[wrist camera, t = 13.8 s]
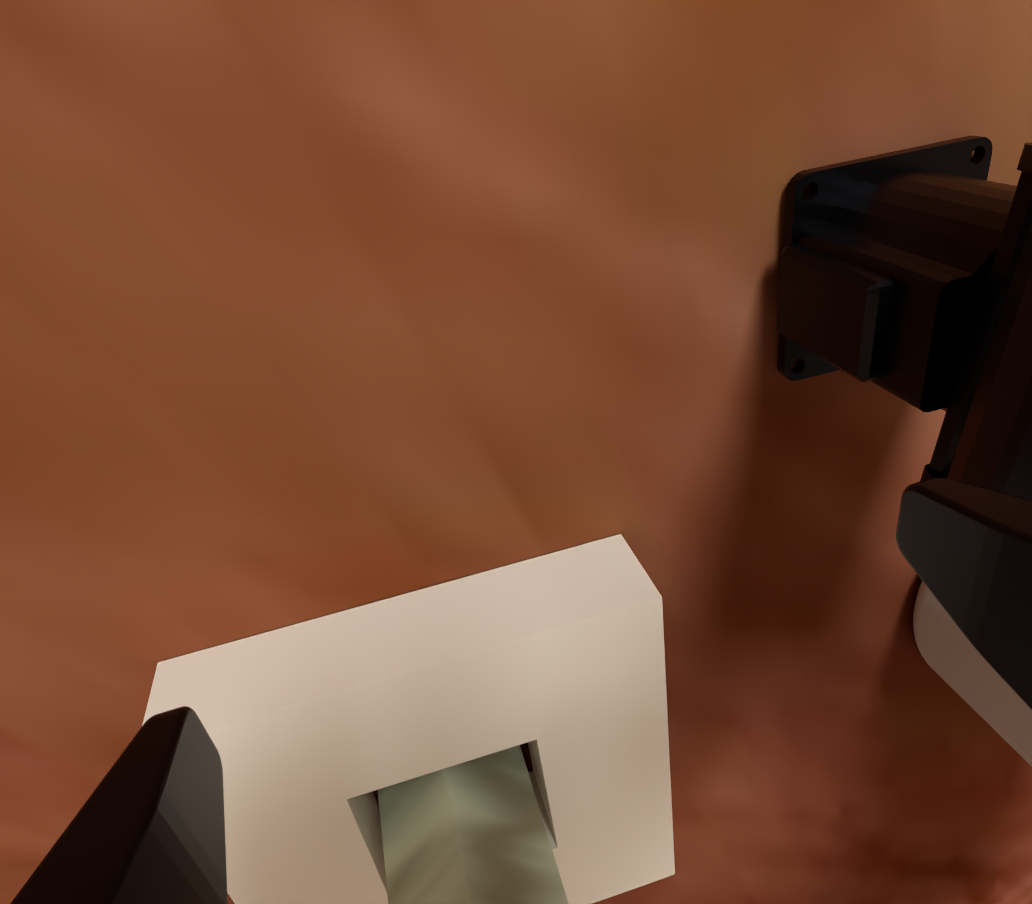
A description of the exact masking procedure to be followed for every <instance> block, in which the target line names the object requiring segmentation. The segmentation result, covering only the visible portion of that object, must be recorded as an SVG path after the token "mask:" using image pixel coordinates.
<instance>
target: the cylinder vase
mask: <svg viewBox="0 0 1032 904" xmlns="http://www.w3.org/2000/svg"><path fill="white" fill-rule="evenodd" d="M913 629H914V636H915V640H916V644H917V646H918V649H919V651H920V653H921V655H922V657H923V658H924V660H925V661H926V662H927V664H928V665H929V666H930V667H931V668H932V669H933V670H934V671H935V672H936V673H937V674H938V675H939V676H940V677H941V678H942V679H943V680H944V681H945V682H946V683H947V684H948V685H949V686H950V687H951V688H952V689H953V690H954V691H955V692H956V693H957V694H958V695H959V696H960V697H961V698H962V699H963V700H964V701H965V702H966V703H967V704H968V705H970V706H971V707H972V708H973V709H974V710H975V711H976V712H977V713H978V714H979V715H980V716H981V717H982V718H983V719H984V720H985V721H986V722H987V723H988V724H989V725H990V726H991V727H992V728H993V729H994V730H995V731H996V732H997V733H998V734H999V735H1000V736H1001V737H1002V738H1003V739H1004V740H1005V741H1006V742H1007V743H1008V744H1009V745H1010V746H1011V747H1012V748H1013V749H1014V750H1015V751H1016V752H1017V753H1018V754H1019V755H1020V756H1021V757H1022V758H1023V759H1024V760H1025V761H1026V762H1027V763H1028V764H1029V765H1030V766H1032V710H1031V709H1030V708H1029V707H1028V706H1027V704H1026V703H1025V702H1024V701H1023V700H1022V699H1021V698H1020V697H1019V696H1018V695H1017V694H1016V693H1015V692H1014V690H1013V689H1012V688H1011V687H1010V686H1009V685H1008V684H1007V683H1006V682H1005V681H1004V680H1003V679H1002V678H1001V676H1000V675H999V674H998V673H997V672H996V671H995V670H994V669H993V668H992V667H991V666H990V665H989V664H988V662H987V661H986V660H985V659H984V658H983V657H982V656H981V655H980V653H979V652H978V651H977V650H976V649H975V648H974V646H973V645H972V644H971V643H970V642H969V640H968V639H967V638H966V637H965V635H964V634H963V633H962V632H961V630H960V629H959V628H958V626H957V625H956V624H955V623H954V621H953V620H952V619H951V617H950V616H949V615H948V613H947V612H946V611H945V609H944V608H943V607H942V606H941V604H940V603H939V602H938V600H937V599H936V598H935V596H934V595H933V594H932V593H931V591H930V590H929V589H928V587H927V586H926V585H925V583H924V582H923V581H922V582H921V585H920V588H919V591H918V594H917V597H916V601H915V606H914V614H913Z"/></svg>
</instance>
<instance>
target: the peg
mask: <svg viewBox="0 0 1032 904" xmlns="http://www.w3.org/2000/svg"><path fill="white" fill-rule="evenodd" d="M378 800H379V810H380V821H381V831H382V842H383V852H384V863H385V873H386V884H387V894H388V904H569V903H568V900H567V897H566V894H565V890H564V887H563V884H562V881H561V877H560V874H559V871H558V868H557V864H556V861H555V858H554V855H553V851H552V848H551V845H550V842H549V838H548V835H547V832H546V828H545V825H544V822H543V819H542V815H541V812H540V809H539V806H538V802H537V799H536V796H535V793H534V789H533V786H532V783H531V780H530V776H529V773H528V770H527V767H526V763H525V760H524V757H523V754H522V750H521V747H520V745H517V746H514V747H511V748H508V749H505V750H502V751H498V752H495V753H492V754H489V755H486V756H483V757H479V758H476V759H473V760H470V761H467V762H464V763H460V764H457V765H454V766H451V767H448V768H445V769H442V770H438V771H435V772H432V773H429V774H426V775H423V776H419V777H416V778H413V779H410V780H407V781H404V782H400V783H397V784H394V785H391V786H388V787H385V788H381V789H378Z"/></svg>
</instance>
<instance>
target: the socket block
mask: <svg viewBox="0 0 1032 904" xmlns="http://www.w3.org/2000/svg"><path fill="white" fill-rule="evenodd" d="M182 706H188V707H190V708H192V709H193V710H194V711H195V712H196V714H197V716H198V717H199V719H200V721H201V722H202V724H203V726H204V728H205V729H206V731H207V733H208V734H209V736H210V738H211V740H212V741H213V743H214V745H215V746H216V748H217V750H218V752H219V755H220V758H221V762H222V769H223V790H224V818H225V845H226V873H227V893H228V894H229V896H230V897H231V899H232V900H233V902H234V903H235V904H388V894H387V884H386V873H385V863H384V852H383V842H382V831H381V821H380V810H379V806H378V804H377V801H376V799H375V796H374V794H373V791H375V790H378V789H381V788H385V787H388V786H391V785H394V784H397V783H400V782H404V781H407V780H410V779H413V778H416V777H419V776H423V775H426V774H429V773H432V772H435V771H438V770H442V769H445V768H448V767H451V766H454V765H457V764H460V763H464V762H467V761H470V760H473V759H476V758H479V757H483V756H486V755H489V754H492V753H495V752H498V751H502V750H505V749H508V748H511V747H514V746H517V745H521V744H524V743H527V742H528V747H529V751H530V756H531V761H532V766H533V771H531V772H528V773H529V776H530V780H531V783H532V786H533V789H534V793H535V796H536V799H537V802H538V806H539V809H540V812H541V815H542V819H543V822H544V825H545V828H546V832H547V835H548V838H549V842H550V845H551V848H552V851H553V855H554V858H555V861H556V864H557V868H558V871H559V874H560V877H561V881H562V884H563V887H564V890H565V894H566V897H567V900H568V903H569V904H592V903H595V902H598V901H601V900H604V899H606V898H609V897H612V896H615V895H618V894H621V893H623V892H626V891H629V890H632V889H635V888H638V887H640V886H643V885H646V884H649V883H652V882H654V881H657V880H660V879H663V878H666V877H669V876H671V875H674V874H675V866H674V844H673V823H672V801H671V780H670V758H669V737H668V715H667V694H666V672H665V651H664V629H663V608H662V596H661V595H660V593H659V592H658V590H657V589H656V587H655V586H654V584H653V582H652V581H651V579H650V578H649V576H648V575H647V573H646V572H645V570H644V569H643V567H642V566H641V564H640V563H639V561H638V560H637V558H636V556H635V555H634V553H633V552H632V550H631V549H630V547H629V546H628V544H627V543H626V541H625V540H624V538H623V537H622V535H621V534H619V535H615V536H612V537H608V538H604V539H601V540H597V541H594V542H590V543H586V544H583V545H579V546H576V547H572V548H568V549H565V550H561V551H558V552H554V553H550V554H547V555H543V556H539V557H536V558H532V559H529V560H525V561H521V562H518V563H514V564H511V565H507V566H503V567H500V568H496V569H493V570H489V571H485V572H482V573H478V574H475V575H471V576H467V577H464V578H460V579H457V580H453V581H449V582H446V583H442V584H439V585H435V586H431V587H428V588H424V589H421V590H417V591H413V592H410V593H406V594H403V595H399V596H395V597H392V598H388V599H385V600H381V601H377V602H374V603H370V604H367V605H363V606H359V607H356V608H352V609H349V610H345V611H341V612H338V613H334V614H331V615H327V616H323V617H320V618H316V619H313V620H309V621H305V622H302V623H298V624H295V625H291V626H287V627H284V628H280V629H277V630H273V631H269V632H266V633H262V634H259V635H255V636H251V637H248V638H244V639H241V640H237V641H233V642H230V643H226V644H223V645H219V646H215V647H212V648H208V649H205V650H201V651H197V652H194V653H190V654H187V655H183V656H179V657H176V658H172V659H169V660H165V661H161V662H158V664H157V668H156V672H155V676H154V680H153V684H152V688H151V692H150V696H149V700H148V705H147V709H146V713H145V717H144V721H143V725H144V723H145V722H146V721H147V720H148V719H149V718H150V717H152V716H154V715H156V714H159V713H162V712H166V711H169V710H172V709H175V708H179V707H182ZM143 725H142V726H143Z"/></svg>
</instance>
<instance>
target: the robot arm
mask: <svg viewBox="0 0 1032 904" xmlns="http://www.w3.org/2000/svg"><path fill="white" fill-rule="evenodd" d="M973 150H974V155H973V157H972V158H971V159H970V155H971V153H972V151H973ZM991 156H992V143H991V141H990V140H989V139H988V138H986V137H979V136H967V137H962V138H957V139H952V140H948V141H943V142H938V143H933V144H928V145H924V146H919V147H914V148H909V149H904V150H900V151H895V152H890V153H885V154H880V155H875V156H871V157H866V158H861V159H856V160H851V161H847V162H842V163H837V164H832V165H827V166H823V167H818V168H813V169H808V170H803V171H801V172H799V173H797V174H796V175H795V176H794V177H792V179H791V180H790V182H789V184H788V187H787V192H786V209H785V228H784V247H783V252H782V254H781V256H780V274H779V294H778V313H777V330H778V331H779V342H778V361H777V367H778V371H779V372H780V374H781V375H783V376H784V377H786V378H787V379H789V380H792V381H794V380H800V379H804V378H808V377H812V376H816V375H820V374H824V373H828V372H832V371H836V370H840V369H841V370H842V371H844V372H846V373H847V374H849V375H851V376H853V377H854V378H856V379H858V380H859V381H862V382H866V381H871V382H873V383H875V384H876V385H878V386H880V387H882V388H883V389H885V390H887V391H888V392H890V393H892V394H894V395H895V396H897V397H899V398H901V399H902V400H904V401H906V402H907V403H909V404H911V405H913V406H914V407H916V408H918V409H920V410H921V411H923V412H931V411H935V410H938V409H942V410H944V411H946V414H945V417H944V420H943V424H942V427H941V430H940V433H939V436H938V440H937V443H936V446H935V449H934V452H933V456H932V459H931V462H930V464H927V465H925V467H924V470H923V474H922V477H921V480H920V482H917V483H914V484H911V485H909V486H907V487H906V489H905V490H904V492H903V494H902V499H901V505H900V512H899V518H898V525H897V531H896V540H897V544H898V547H899V549H900V551H901V553H902V555H903V556H904V557H905V559H906V560H907V561H908V563H909V564H910V565H911V566H912V568H913V569H914V570H915V572H916V573H917V574H918V576H919V577H920V578H921V580H922V581H923V582H924V583H925V585H926V586H927V587H928V589H929V590H930V591H931V593H932V594H933V595H934V596H935V598H936V599H937V600H938V602H939V603H940V604H941V606H942V607H943V608H944V609H945V611H946V612H947V613H948V615H949V616H950V617H951V619H952V620H953V621H954V623H955V624H956V625H957V626H958V628H959V629H960V630H961V632H962V633H963V634H964V635H965V637H966V638H967V639H968V640H969V642H970V643H971V644H972V645H973V646H974V648H975V649H976V650H977V651H978V652H979V653H980V655H981V656H982V657H983V658H984V659H985V660H986V661H987V662H988V664H989V665H990V666H991V667H992V668H993V669H994V670H995V671H996V672H997V673H998V674H999V675H1000V676H1001V678H1002V679H1003V680H1004V681H1005V682H1006V683H1007V684H1008V685H1009V686H1010V687H1011V688H1012V689H1013V690H1014V692H1015V693H1016V694H1017V695H1018V696H1019V697H1020V698H1021V699H1022V700H1023V701H1024V702H1025V703H1026V704H1027V706H1028V707H1029V708H1030V709H1031V710H1032V143H1025V145H1024V148H1023V151H1022V155H1021V158H1020V161H1019V164H1018V168H1017V170H1020V171H1022V172H1021V175H1020V178H1019V181H1018V185H1017V186H1013V185H1008V184H1002V183H997V182H992V181H987V177H988V171H989V166H990V161H991ZM807 183H810V189H809V192H808V193H807V195H806V196H804V197H803V195H802V191H803V188H804V186H805V185H806V184H807ZM796 360H798V362H797V365H796V366H795V367H794V368H792V369H791V366H792V364H793V363H794V361H796ZM10 904H227V873H226V845H225V818H224V790H223V769H222V762H221V758H220V755H219V752H218V750H217V748H216V746H215V745H214V743H213V741H212V740H211V738H210V736H209V734H208V733H207V731H206V729H205V728H204V726H203V724H202V722H201V721H200V719H199V717H198V716H197V714H196V712H195V711H194V710H193V709H192V708H190V707H188V706H182V707H179V708H175V709H172V710H169V711H166V712H162V713H159V714H156V715H154V716H152V717H150V718H149V719H148V720H147V721H146V722H145V723H144V725H143V726H142V727H141V729H140V730H139V731H138V733H137V734H136V735H135V737H134V738H133V739H132V741H131V742H130V743H129V745H128V746H127V747H126V749H125V750H124V751H123V753H122V754H121V755H120V757H119V758H118V760H117V761H116V762H115V764H114V765H113V766H112V768H111V769H110V770H109V772H108V773H107V774H106V776H105V777H104V778H103V780H102V781H101V782H100V784H99V785H98V786H97V788H96V789H95V790H94V792H93V793H92V794H91V796H90V797H89V799H88V800H87V801H86V803H85V804H84V805H83V807H82V808H81V809H80V811H79V812H78V813H77V815H76V816H75V817H74V819H73V820H72V821H71V823H70V824H69V825H68V827H67V828H66V829H65V831H64V832H63V834H62V835H61V836H60V838H59V839H58V840H57V842H56V843H55V844H54V846H53V847H52V848H51V850H50V851H49V852H48V854H47V855H46V856H45V858H44V859H43V860H42V862H41V863H40V864H39V866H38V867H37V868H36V870H35V871H34V873H33V874H32V875H31V877H30V878H29V879H28V881H27V882H26V883H25V885H24V886H23V887H22V889H21V890H20V891H19V893H18V894H17V895H16V897H15V898H14V899H13V901H12V902H11V903H10Z"/></svg>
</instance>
